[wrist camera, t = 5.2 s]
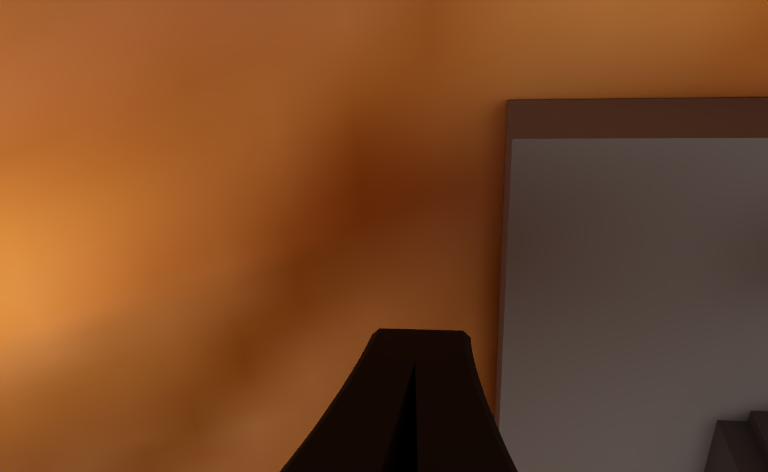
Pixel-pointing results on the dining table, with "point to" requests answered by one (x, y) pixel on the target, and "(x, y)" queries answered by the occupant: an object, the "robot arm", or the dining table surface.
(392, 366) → the robot arm
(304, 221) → the dining table surface
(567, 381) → the control panel
